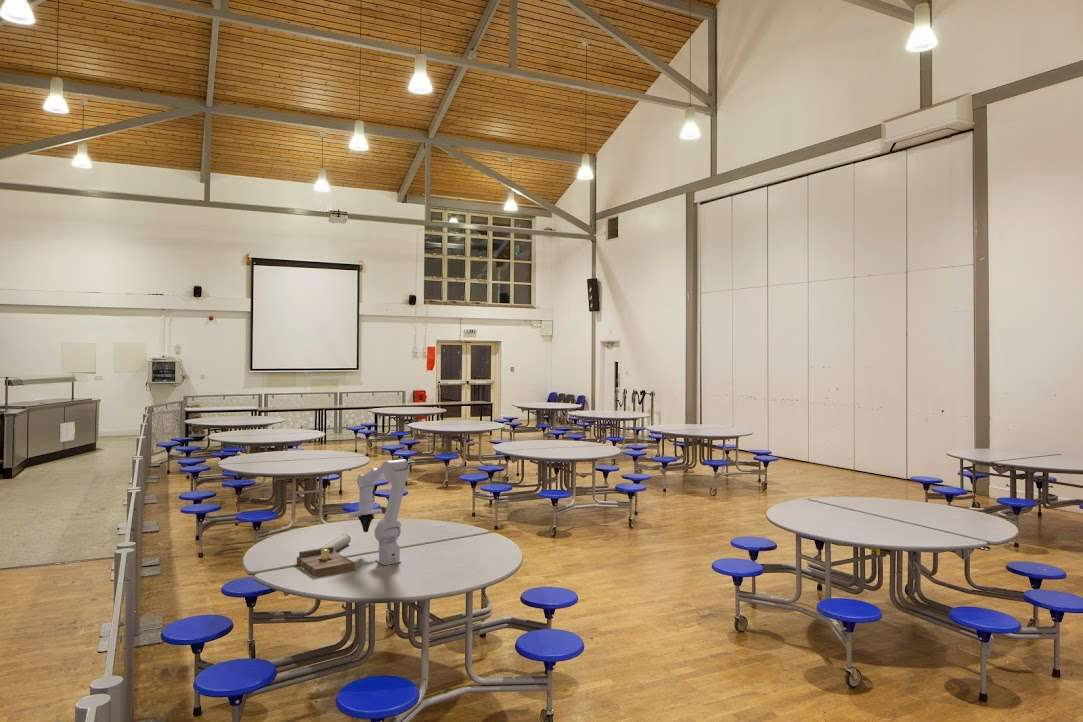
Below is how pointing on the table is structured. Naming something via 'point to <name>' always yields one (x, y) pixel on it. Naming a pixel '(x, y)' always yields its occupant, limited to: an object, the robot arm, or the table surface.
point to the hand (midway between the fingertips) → (365, 531)
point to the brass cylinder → (324, 555)
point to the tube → (338, 542)
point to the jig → (317, 568)
